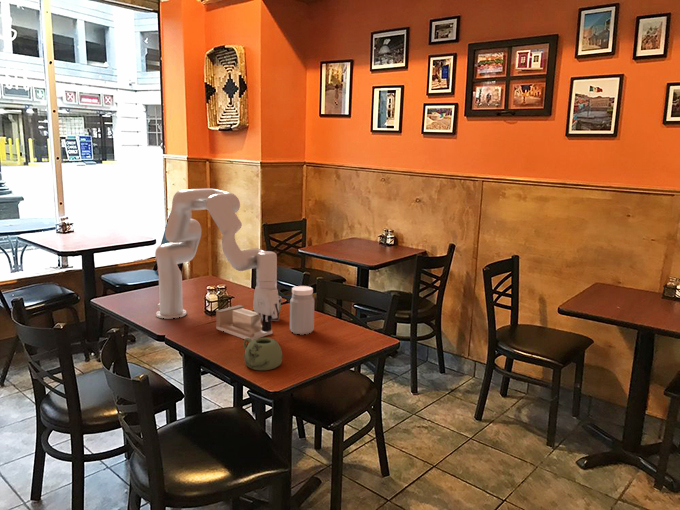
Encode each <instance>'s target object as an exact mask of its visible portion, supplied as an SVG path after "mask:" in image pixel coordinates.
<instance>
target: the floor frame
mask: <svg viewBox="0 0 680 510" xmlns="http://www.w3.org/2000/svg"><path fill="white" fill-rule="evenodd" d="M241 308H243V309H244V305H241V304H238V305H233V306H229V307H226V308H222V309H218V310H215V312H216V313H215V325H216V326H215V327H216V330H219V331H221V332H223V331H224V332H223V333H225V334H229V335H232V336H234V337H237V338H239V339H242V340H243V339H244V340H245V339H246V338H250V339H251V340H254V339H257V338H264V337H266V336H270V335H272V334H273V330H272V327H271V330H270V331H267V332H264V331H262V324H261V331H259V332H255V333H252V332H249V331H246V330H243V329H240V328H237V327H235V326H233V310H237V309H241Z"/></svg>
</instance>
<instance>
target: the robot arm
mask: <svg viewBox="0 0 680 510" xmlns="http://www.w3.org/2000/svg"><path fill="white" fill-rule="evenodd" d="M240 207H241V202H240V199H239V198H238V196H237V195H235V194H234V193H232V192H228V191H225V190H220V189H216V188H191V189H186V188H185V189H180V190H177V191H176V192H175V193H174V195H173V197H172V203H171V208H170V212H169V216H168V220H167V224H166V226H165V231H164V232H165V233H164V236H165V239H166V241H167V242H166V243H162V244H160V245H159V246H158V247H157V248H156V249H155V255H154V257H155V260H156V264H157V271H158V297H159V303H157V304H156V307H157V308H158V309H159V310H158V311H156V313H155V315H156V317H157V318H159V319H163V318H164V320H172V319H173V318H175V319H180V318H183V317H185V316H186V315H187V312H188V311H187V310H186V309H184V307H183V274H182V271H181V269H180V268H179V266H178V265H180V264H184V263H187V262H190V261H193V259H194V258H195V256H196V253H197V250H198V248H199V247H198V246H199V244H200V241H201V237H202V230H203V229H202V226H201V224H200V222H199V221H198V220H197V219H194V218H192V216H193V212H192V211H202V210H203V211H204V210H207V211H208V213H209V215H210V216H211V218H212V220H213V222H214V223H215V225H216V226H217V228H218V229H219V231H220V232H221V235H222V237H221V246H222V247H221V248H222V251H223V252H222V253H223V254H224V257H225V259H226V260H227V261H228V262H229V264H230V265H231V267H232V268H233V269H234V270H236V271H239V272H243V271H245V272H246V271H249V270H252V269H256V280H255V281H256V286H255V287H254V288H255V289H254V293H253V303H252V307H253V312H256V313H257V314H259V315H260V317H261V325H262V331H264V332H267V331H270V330H271V328H272V319H275V318H277V317H278V316H277V313H278V312H279V297H278V296H279V291H278V287H277V286H278V284H277V283H278V282H277V281H278V280H277V279H278V276H277V275H278V272H277V271H278V265H277V264H278V261H277V260H278V259H277V258H278V255H277V253H276V252H274V251H272V250H271V251H270V250H267V251H266V250H263V249H261V248H257V247H255V248H249V249H244V250H243V249H240V247H239V245H238V243H237V242H236V237H235V236H236V234H237V233H238V232H239V231H240V230H241V228H242V225H243V224H242V223H243V222H242V221H241V220H240V218H239V217H238V215H237V214H236V213H237V212H238V211H239V210H240ZM179 317H180V318H179Z"/></svg>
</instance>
